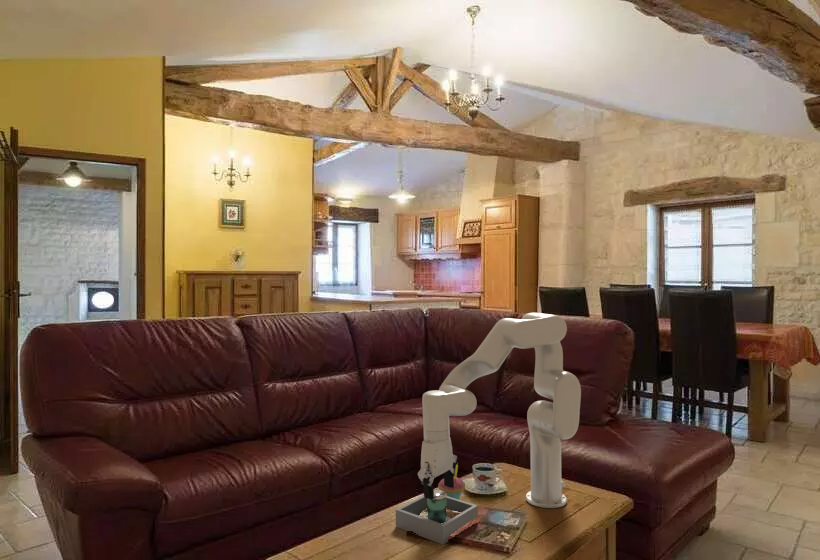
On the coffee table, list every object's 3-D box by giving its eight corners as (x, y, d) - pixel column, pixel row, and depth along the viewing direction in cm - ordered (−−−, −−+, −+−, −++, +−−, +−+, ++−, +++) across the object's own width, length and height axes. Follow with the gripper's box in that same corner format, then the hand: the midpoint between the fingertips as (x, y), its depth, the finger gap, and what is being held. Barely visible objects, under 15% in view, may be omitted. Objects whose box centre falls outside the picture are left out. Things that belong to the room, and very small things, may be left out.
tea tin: (435, 515, 168) (434, 488, 167) (451, 520, 164) (450, 493, 164) (423, 522, 163) (422, 494, 163) (439, 527, 159) (438, 499, 159)
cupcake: (465, 494, 185) (464, 458, 185) (465, 505, 176) (464, 467, 176) (439, 494, 186) (438, 458, 186) (437, 504, 177) (437, 467, 177)
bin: (431, 507, 176) (431, 491, 175) (477, 522, 165) (477, 505, 165) (395, 526, 163) (395, 509, 162) (443, 544, 152) (442, 526, 152)
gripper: (444, 424, 172) (446, 479, 173) (407, 440, 159) (410, 499, 160) (464, 428, 167) (466, 485, 168) (428, 444, 154) (431, 506, 155)
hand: (439, 492), depth 164 cm, fingers open, 9 cm apart
